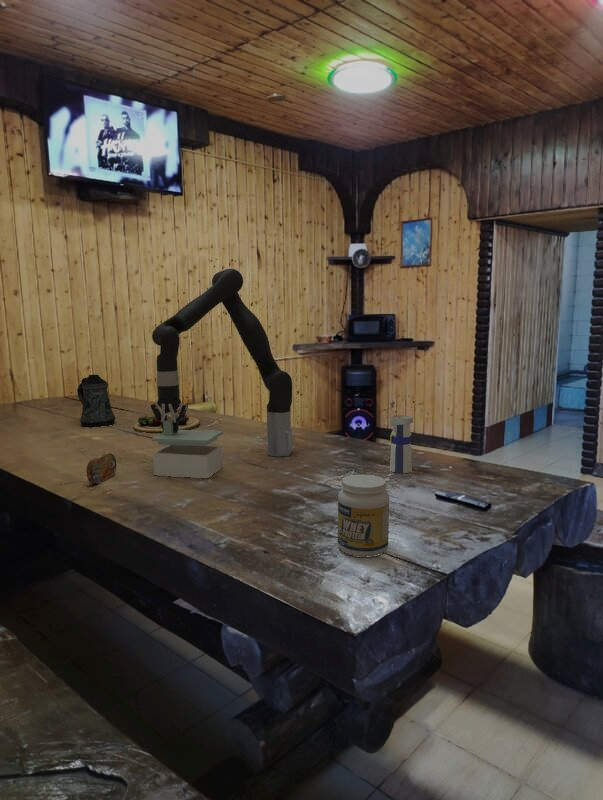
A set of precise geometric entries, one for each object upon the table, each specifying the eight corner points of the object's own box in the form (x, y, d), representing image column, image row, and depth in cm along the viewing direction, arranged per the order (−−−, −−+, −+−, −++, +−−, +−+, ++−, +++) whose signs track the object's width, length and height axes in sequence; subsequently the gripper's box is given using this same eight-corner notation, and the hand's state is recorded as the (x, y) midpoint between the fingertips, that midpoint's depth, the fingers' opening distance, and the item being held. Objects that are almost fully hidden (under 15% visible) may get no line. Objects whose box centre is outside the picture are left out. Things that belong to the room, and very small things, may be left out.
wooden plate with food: (169, 418, 304) (168, 403, 302) (213, 424, 286) (212, 408, 284) (119, 430, 278) (118, 413, 277) (164, 437, 260) (163, 420, 259)
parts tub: (222, 467, 208) (222, 446, 206) (208, 478, 194) (207, 456, 193) (171, 464, 212) (170, 443, 211) (154, 475, 199) (152, 453, 197)
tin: (94, 487, 187) (92, 462, 185) (85, 486, 187) (83, 461, 186) (117, 474, 201) (116, 450, 200) (109, 473, 202) (108, 450, 201)
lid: (223, 438, 206) (222, 417, 205) (207, 447, 192) (206, 425, 191) (170, 436, 211) (169, 416, 209) (152, 445, 197) (150, 424, 196)
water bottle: (386, 473, 199) (387, 402, 195) (391, 466, 207) (392, 398, 203) (409, 475, 196) (411, 403, 192) (413, 468, 204) (415, 399, 200)
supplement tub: (330, 555, 134) (330, 485, 131) (345, 535, 145) (345, 471, 142) (382, 562, 129) (383, 490, 127) (393, 542, 141) (394, 475, 138)
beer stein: (108, 428, 279) (105, 377, 275) (69, 428, 279) (65, 377, 276) (119, 421, 296) (117, 373, 292) (82, 421, 296) (79, 373, 292)
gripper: (191, 382, 202) (193, 430, 204) (154, 382, 205) (157, 429, 208) (182, 385, 194) (184, 435, 197) (144, 384, 198) (147, 433, 200)
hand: (170, 432), depth 202 cm, fingers closed on lid, 3 cm apart
